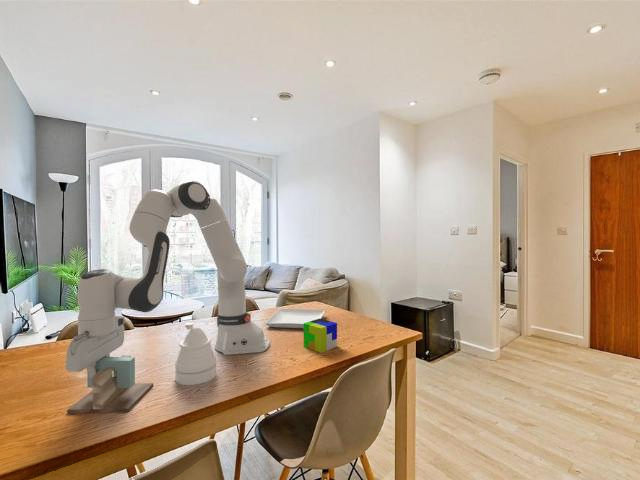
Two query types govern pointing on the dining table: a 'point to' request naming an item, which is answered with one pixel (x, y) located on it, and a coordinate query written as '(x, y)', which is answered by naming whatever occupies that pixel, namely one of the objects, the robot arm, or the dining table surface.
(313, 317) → the square plate
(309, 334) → the puzzle toy
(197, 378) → the honey pot
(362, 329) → the dining table surface
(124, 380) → the green arch block
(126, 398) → the stand
